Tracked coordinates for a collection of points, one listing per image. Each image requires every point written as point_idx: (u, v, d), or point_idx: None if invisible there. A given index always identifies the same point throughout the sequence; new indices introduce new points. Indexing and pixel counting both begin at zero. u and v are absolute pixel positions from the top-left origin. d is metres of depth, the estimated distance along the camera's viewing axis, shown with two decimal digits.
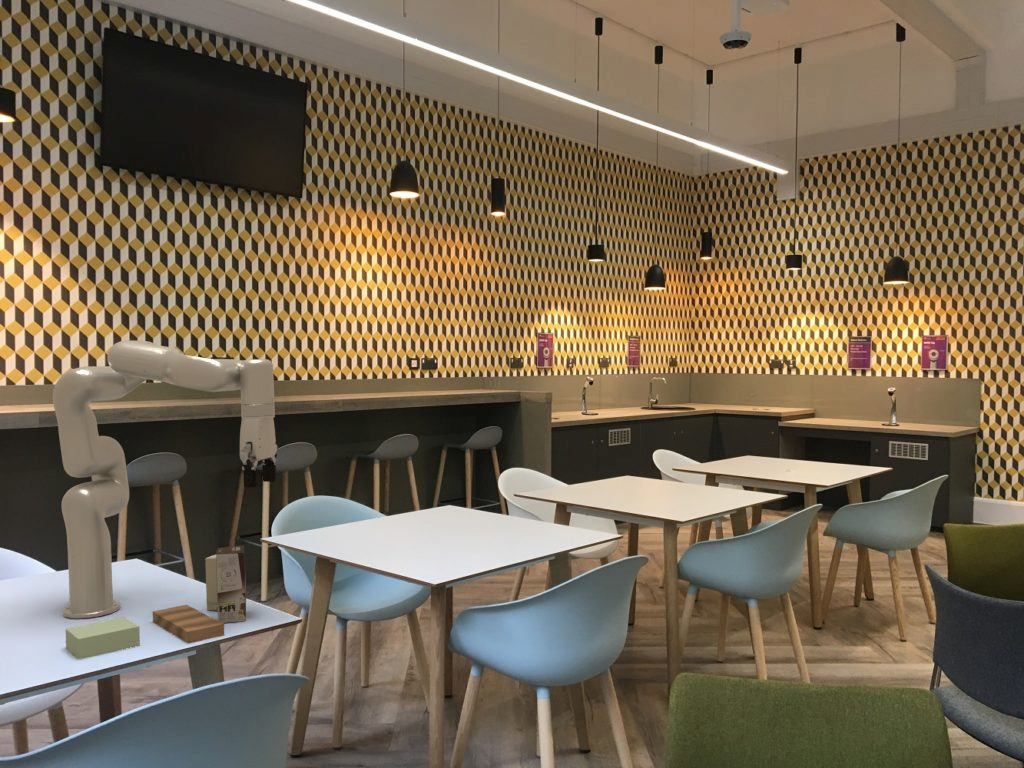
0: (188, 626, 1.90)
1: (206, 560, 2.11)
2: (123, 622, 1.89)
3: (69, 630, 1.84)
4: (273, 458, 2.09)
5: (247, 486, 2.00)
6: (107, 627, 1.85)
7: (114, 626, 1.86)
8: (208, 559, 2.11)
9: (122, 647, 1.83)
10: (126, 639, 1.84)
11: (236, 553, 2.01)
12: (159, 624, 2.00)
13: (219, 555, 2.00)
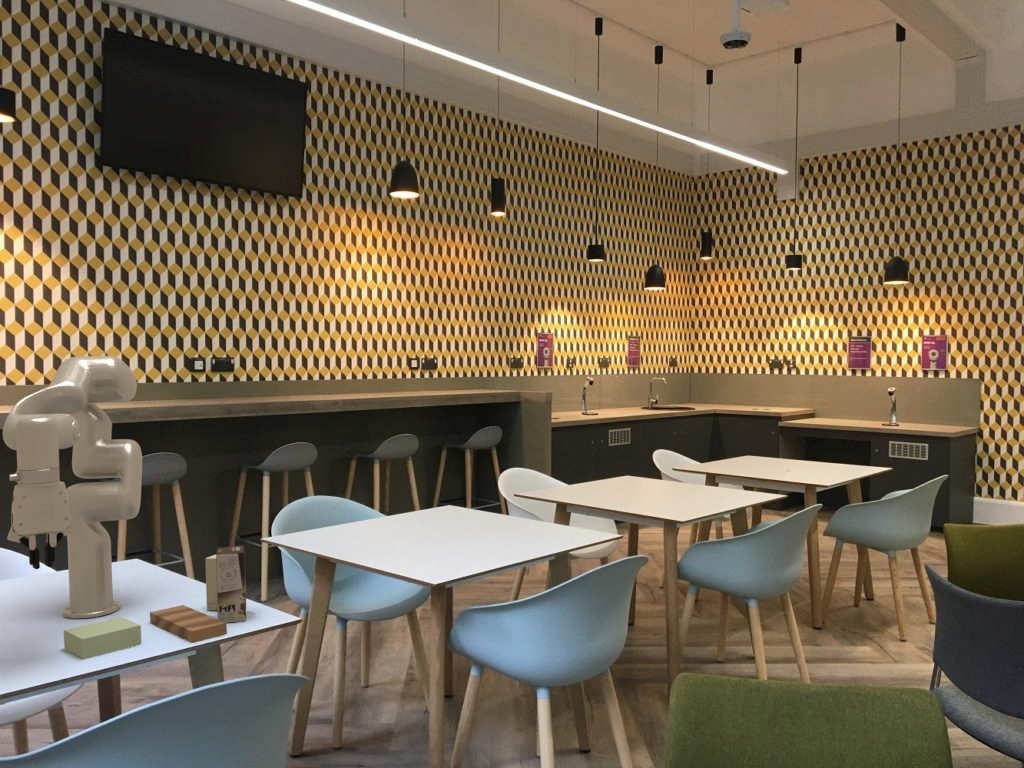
0: (191, 626, 1.90)
1: (206, 560, 2.11)
2: (122, 622, 1.89)
3: (68, 631, 1.83)
4: None
5: None
6: (107, 627, 1.85)
7: (114, 626, 1.86)
8: (208, 559, 2.11)
9: (124, 646, 1.84)
10: (127, 638, 1.84)
11: (236, 553, 2.01)
12: (158, 625, 1.99)
13: (219, 555, 2.00)
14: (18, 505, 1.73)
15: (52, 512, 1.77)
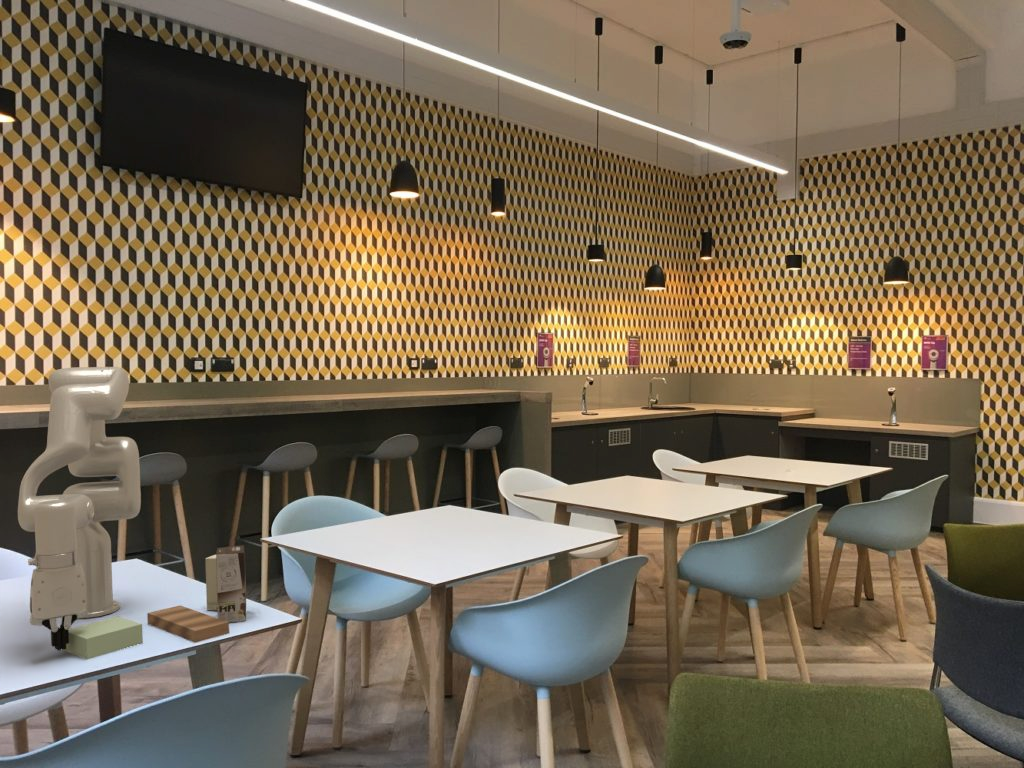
0: (193, 626, 1.90)
1: (206, 560, 2.11)
2: (121, 621, 1.89)
3: (69, 631, 1.83)
4: None
5: None
6: (108, 626, 1.86)
7: (115, 625, 1.86)
8: (208, 559, 2.11)
9: (126, 645, 1.84)
10: (130, 636, 1.85)
11: (236, 553, 2.01)
12: (156, 625, 1.99)
13: (219, 555, 2.00)
14: (37, 590, 1.75)
15: (70, 595, 1.79)
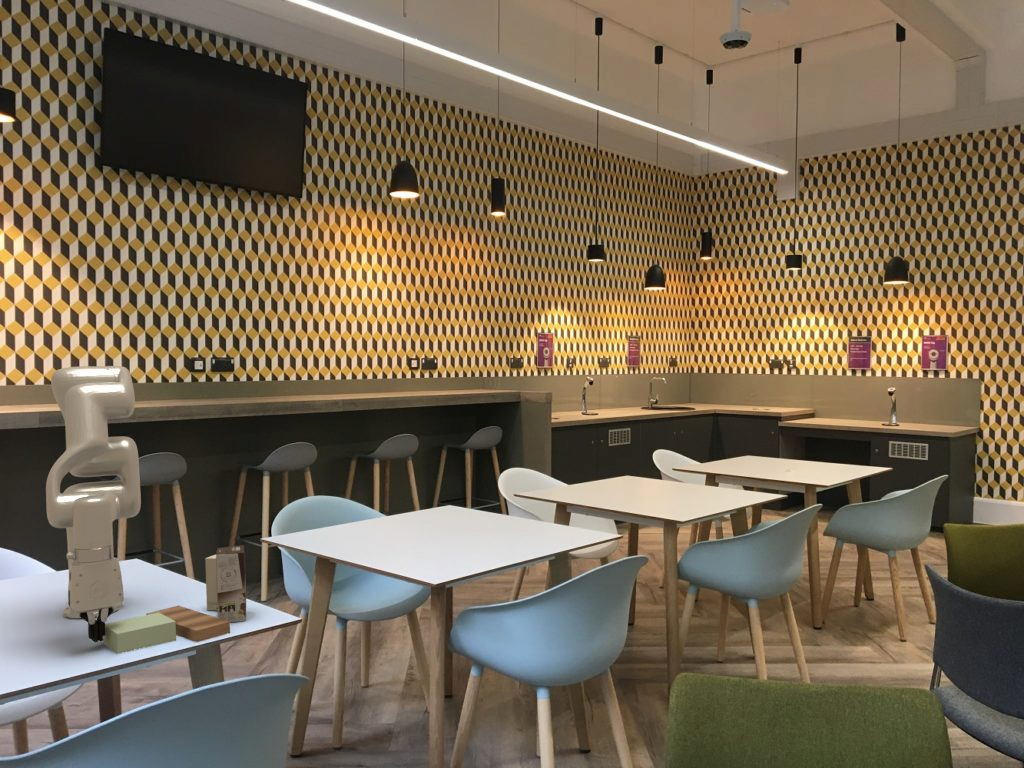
0: (194, 626, 1.90)
1: (206, 560, 2.11)
2: (159, 617, 1.92)
3: (107, 625, 1.87)
4: None
5: None
6: (144, 622, 1.88)
7: (150, 621, 1.89)
8: (208, 559, 2.11)
9: (159, 642, 1.86)
10: (162, 633, 1.87)
11: (236, 553, 2.01)
12: None
13: (219, 555, 2.00)
14: (75, 583, 1.80)
15: (107, 588, 1.83)
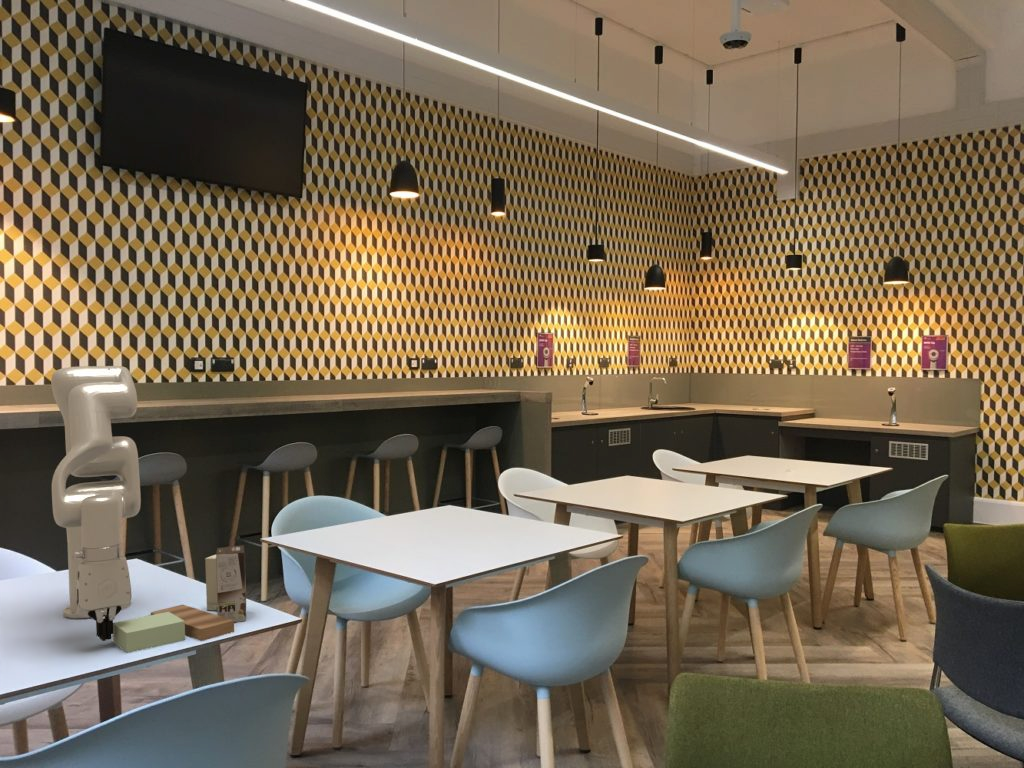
0: (199, 624, 1.91)
1: (206, 560, 2.11)
2: (168, 617, 1.92)
3: (116, 624, 1.87)
4: None
5: None
6: (153, 621, 1.89)
7: (160, 620, 1.89)
8: (208, 559, 2.11)
9: (168, 641, 1.87)
10: (171, 633, 1.87)
11: (236, 553, 2.01)
12: None
13: (219, 555, 2.00)
14: (84, 582, 1.81)
15: (115, 587, 1.84)
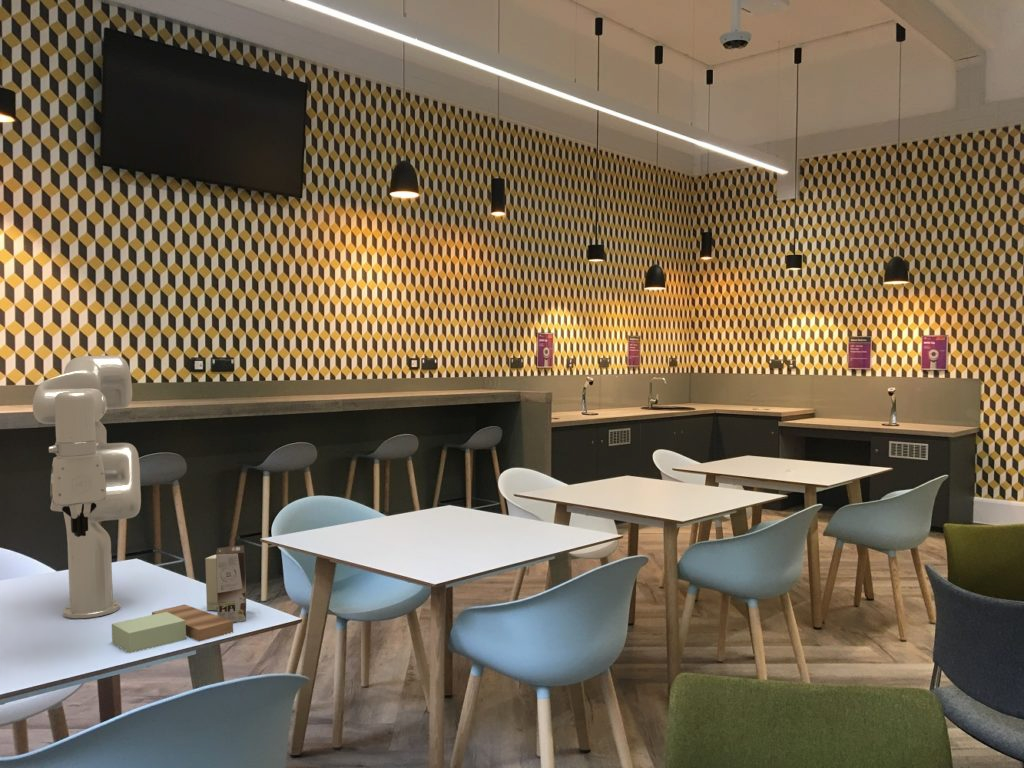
0: (197, 625, 1.91)
1: (206, 560, 2.11)
2: (168, 616, 1.92)
3: (116, 625, 1.87)
4: None
5: None
6: (153, 621, 1.89)
7: (160, 620, 1.89)
8: (208, 559, 2.11)
9: (169, 641, 1.87)
10: (173, 632, 1.87)
11: (236, 553, 2.01)
12: None
13: (219, 555, 2.00)
14: (57, 476, 1.80)
15: (89, 483, 1.83)
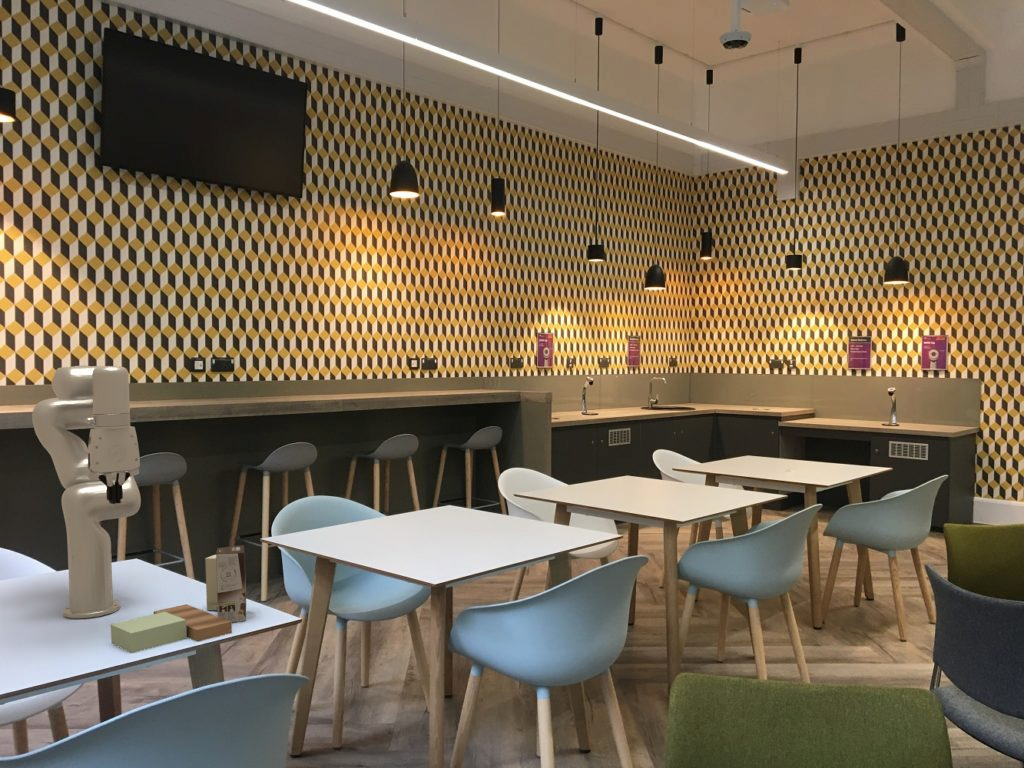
0: (196, 625, 1.91)
1: (206, 560, 2.11)
2: (167, 616, 1.92)
3: (116, 625, 1.86)
4: None
5: None
6: (153, 621, 1.89)
7: (160, 620, 1.89)
8: (208, 559, 2.11)
9: (170, 640, 1.87)
10: (174, 632, 1.88)
11: (236, 553, 2.01)
12: None
13: (219, 555, 2.00)
14: (95, 445, 1.91)
15: (124, 453, 1.94)
